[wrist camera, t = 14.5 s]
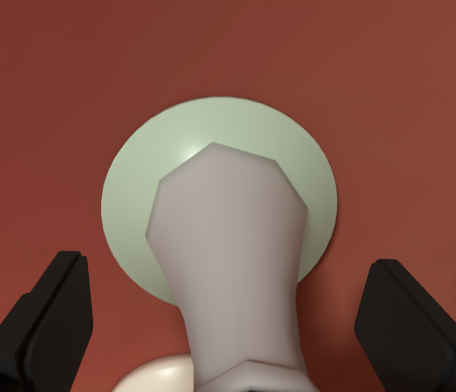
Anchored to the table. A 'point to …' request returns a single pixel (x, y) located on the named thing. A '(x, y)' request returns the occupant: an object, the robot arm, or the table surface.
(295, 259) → the flask
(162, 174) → the green pad
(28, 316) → the robot arm
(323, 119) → the table surface
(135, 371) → the cream pad
